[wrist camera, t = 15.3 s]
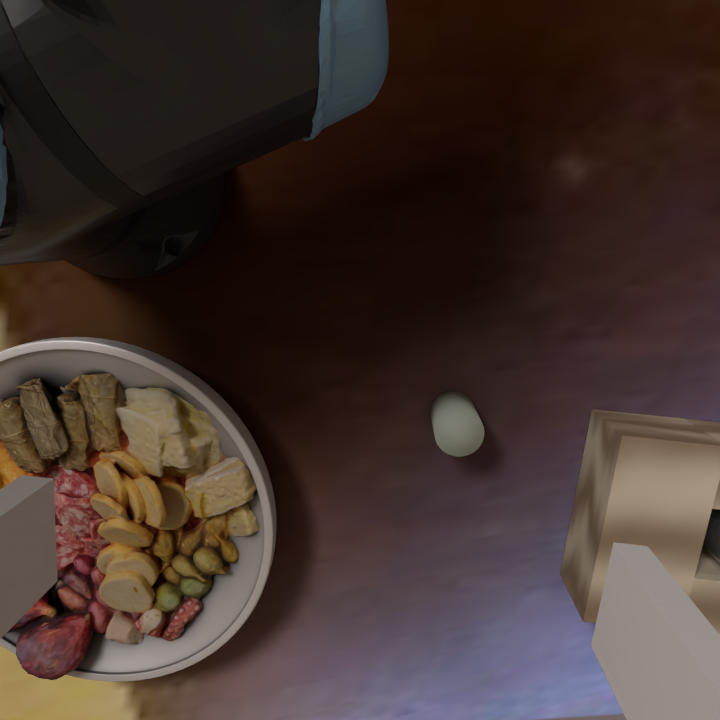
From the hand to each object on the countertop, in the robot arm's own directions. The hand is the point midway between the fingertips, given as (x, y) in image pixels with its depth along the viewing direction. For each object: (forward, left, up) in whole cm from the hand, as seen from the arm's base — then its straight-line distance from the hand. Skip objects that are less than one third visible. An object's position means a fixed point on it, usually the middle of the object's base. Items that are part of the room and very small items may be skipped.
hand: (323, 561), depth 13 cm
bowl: (+17, -21, -32) cm, 42 cm away
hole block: (+12, +28, -32) cm, 44 cm away
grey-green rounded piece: (+6, +7, -32) cm, 33 cm away
